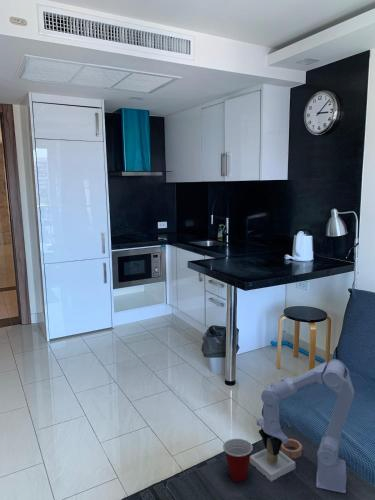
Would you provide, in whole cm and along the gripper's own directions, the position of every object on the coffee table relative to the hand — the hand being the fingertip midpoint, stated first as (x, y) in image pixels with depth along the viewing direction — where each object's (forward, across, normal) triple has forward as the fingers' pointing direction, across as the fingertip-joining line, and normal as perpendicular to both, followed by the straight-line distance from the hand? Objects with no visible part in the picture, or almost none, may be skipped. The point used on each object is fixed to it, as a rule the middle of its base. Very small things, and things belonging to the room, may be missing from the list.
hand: (271, 451), depth 142 cm
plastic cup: (+6, +3, +14) cm, 15 cm away
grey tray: (+6, 0, 0) cm, 6 cm away
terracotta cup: (+6, +1, -12) cm, 13 cm away
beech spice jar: (+3, 0, 0) cm, 4 cm away
